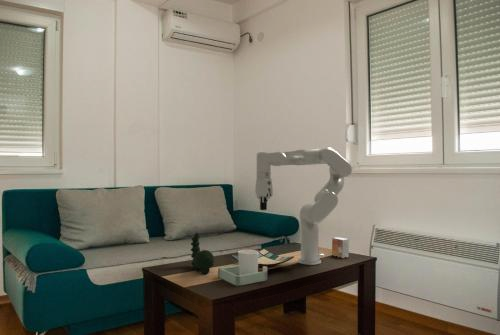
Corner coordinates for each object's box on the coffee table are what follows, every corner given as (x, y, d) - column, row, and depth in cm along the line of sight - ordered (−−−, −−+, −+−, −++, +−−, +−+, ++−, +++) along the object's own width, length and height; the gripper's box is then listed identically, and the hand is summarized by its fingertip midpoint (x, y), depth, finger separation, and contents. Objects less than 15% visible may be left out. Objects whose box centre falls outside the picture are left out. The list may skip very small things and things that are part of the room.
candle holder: (262, 278, 181) (262, 252, 181) (244, 281, 176) (244, 254, 176) (252, 273, 189) (252, 248, 189) (234, 275, 185) (234, 250, 185)
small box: (331, 255, 228) (331, 237, 228) (338, 254, 231) (338, 236, 231) (342, 258, 221) (342, 239, 221) (348, 257, 225) (348, 238, 225)
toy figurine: (186, 269, 202) (199, 277, 180) (185, 232, 204) (199, 236, 181) (203, 267, 206) (219, 275, 183) (203, 231, 208) (218, 234, 185)
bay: (246, 271, 192) (246, 259, 192) (267, 280, 178) (267, 267, 178) (218, 276, 183) (218, 264, 183) (237, 286, 169) (237, 272, 169)
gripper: (277, 175, 202) (277, 210, 202) (261, 175, 215) (260, 208, 215) (266, 175, 198) (266, 211, 198) (249, 175, 211) (249, 208, 211)
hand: (263, 209), depth 206 cm, fingers closed
